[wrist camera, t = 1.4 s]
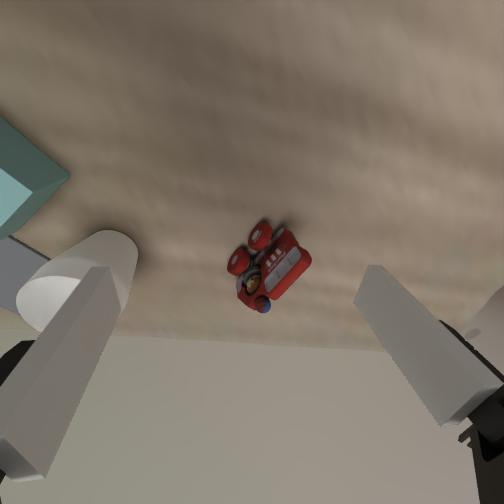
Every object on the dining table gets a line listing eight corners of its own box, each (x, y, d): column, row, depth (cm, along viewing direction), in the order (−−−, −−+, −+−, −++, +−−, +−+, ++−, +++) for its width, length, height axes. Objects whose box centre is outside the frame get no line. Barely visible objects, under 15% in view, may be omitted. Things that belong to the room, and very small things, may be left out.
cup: (122, 286, 37) (87, 353, 27) (63, 251, 33) (-6, 314, 23) (160, 250, 35) (137, 308, 24) (102, 207, 31) (45, 256, 20)
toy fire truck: (219, 269, 38) (220, 318, 29) (268, 208, 34) (287, 243, 25) (253, 287, 41) (264, 337, 32) (302, 233, 36) (330, 272, 28)
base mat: (-60, 276, 32) (-63, 277, 32) (-17, 219, 29) (-20, 221, 29) (34, 319, 38) (32, 321, 38) (77, 275, 35) (76, 277, 35)
